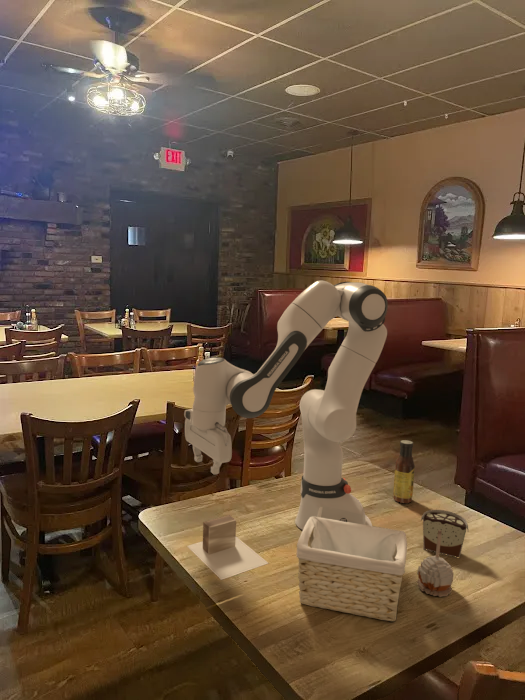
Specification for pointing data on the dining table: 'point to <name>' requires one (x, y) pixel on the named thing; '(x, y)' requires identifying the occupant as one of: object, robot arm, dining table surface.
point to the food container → (444, 531)
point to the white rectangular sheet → (229, 559)
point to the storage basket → (351, 567)
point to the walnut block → (219, 534)
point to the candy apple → (435, 574)
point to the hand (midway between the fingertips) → (206, 467)
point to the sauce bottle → (404, 473)
